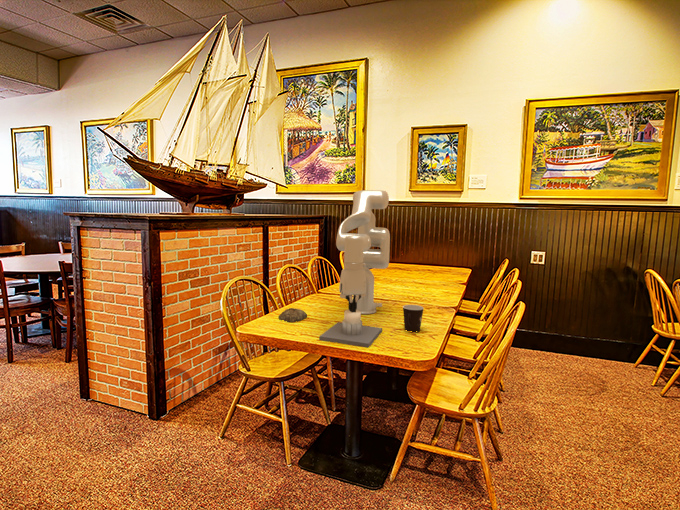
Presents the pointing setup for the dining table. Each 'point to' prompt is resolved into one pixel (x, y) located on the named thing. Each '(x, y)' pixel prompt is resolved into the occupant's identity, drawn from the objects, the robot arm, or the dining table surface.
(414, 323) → the coffee mug
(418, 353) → the dining table surface
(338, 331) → the square plate with socket
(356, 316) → the plug
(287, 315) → the seeded bread roll
